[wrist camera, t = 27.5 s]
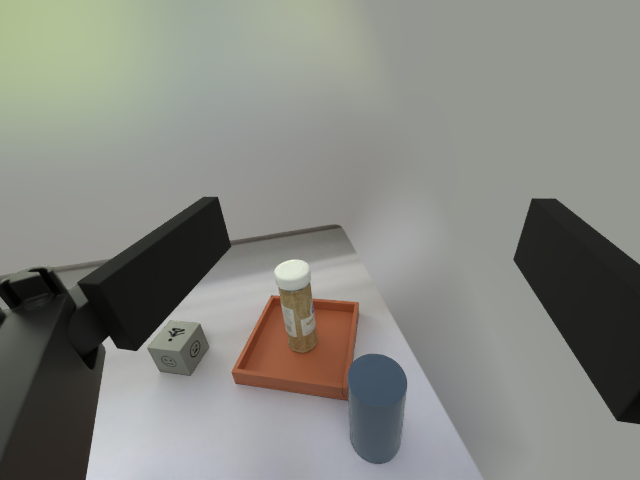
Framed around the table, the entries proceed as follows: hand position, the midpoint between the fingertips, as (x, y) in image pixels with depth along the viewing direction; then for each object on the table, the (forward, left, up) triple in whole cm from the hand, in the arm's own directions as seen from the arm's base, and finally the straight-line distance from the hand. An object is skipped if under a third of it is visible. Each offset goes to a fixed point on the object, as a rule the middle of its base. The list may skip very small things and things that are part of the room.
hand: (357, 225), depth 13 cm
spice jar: (+10, -17, -29) cm, 35 cm away
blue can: (-1, -6, -29) cm, 30 cm away
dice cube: (+27, -12, -29) cm, 42 cm away
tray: (+10, -17, -29) cm, 35 cm away
